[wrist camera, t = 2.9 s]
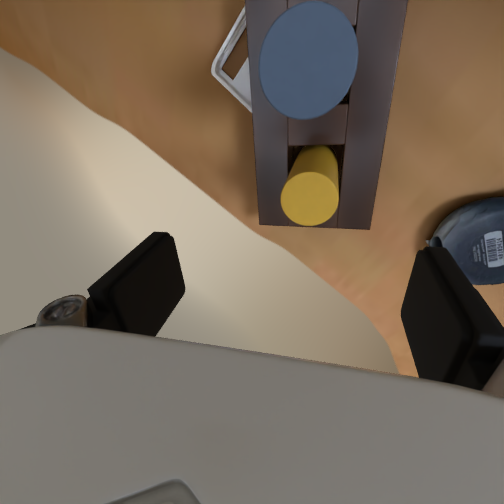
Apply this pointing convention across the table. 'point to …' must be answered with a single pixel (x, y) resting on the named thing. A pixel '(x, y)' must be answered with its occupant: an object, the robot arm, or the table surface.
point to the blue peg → (308, 60)
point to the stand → (336, 120)
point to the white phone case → (242, 79)
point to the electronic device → (475, 240)
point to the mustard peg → (312, 186)
